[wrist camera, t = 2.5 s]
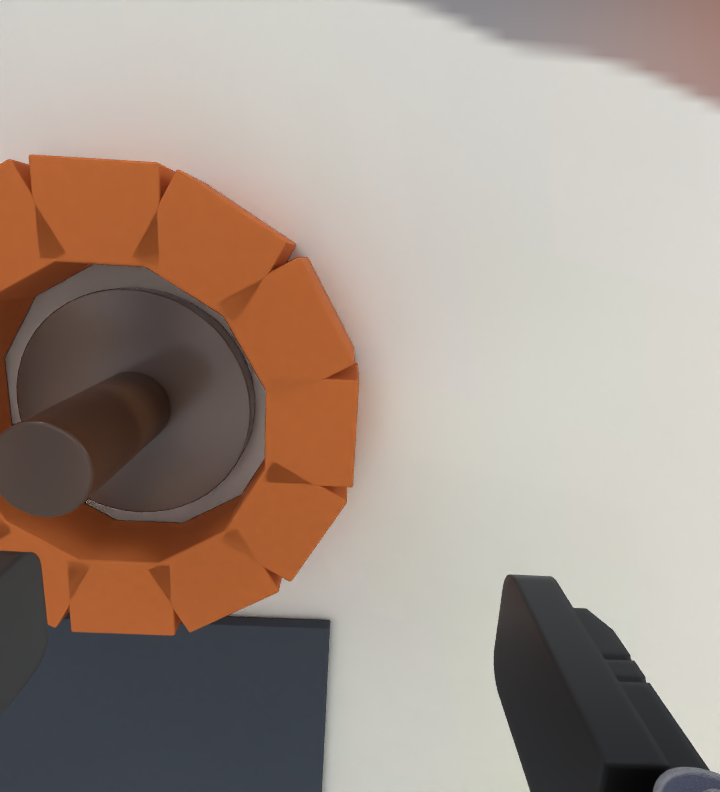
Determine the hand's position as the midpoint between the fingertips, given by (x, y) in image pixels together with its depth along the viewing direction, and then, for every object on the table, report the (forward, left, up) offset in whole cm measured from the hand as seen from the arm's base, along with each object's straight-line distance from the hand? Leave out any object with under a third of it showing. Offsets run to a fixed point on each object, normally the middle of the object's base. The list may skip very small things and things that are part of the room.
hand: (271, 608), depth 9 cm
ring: (-7, 0, -13) cm, 15 cm away
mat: (-7, -16, -13) cm, 22 cm away
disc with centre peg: (-7, 0, -13) cm, 15 cm away
